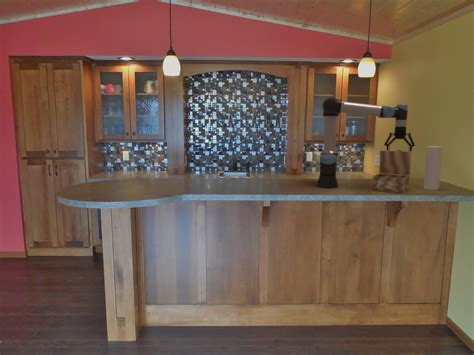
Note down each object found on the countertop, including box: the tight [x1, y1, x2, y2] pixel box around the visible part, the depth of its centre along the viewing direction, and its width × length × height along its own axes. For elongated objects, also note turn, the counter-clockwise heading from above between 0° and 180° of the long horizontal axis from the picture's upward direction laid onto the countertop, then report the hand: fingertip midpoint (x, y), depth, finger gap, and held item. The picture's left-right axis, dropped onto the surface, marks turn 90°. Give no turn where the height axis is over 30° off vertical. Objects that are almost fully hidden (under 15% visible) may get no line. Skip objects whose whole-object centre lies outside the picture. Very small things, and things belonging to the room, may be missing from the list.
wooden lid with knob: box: [378, 149, 412, 176], centre depth 248 cm, size 20×16×14 cm
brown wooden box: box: [371, 173, 410, 194], centre depth 239 cm, size 20×16×10 cm
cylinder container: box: [423, 145, 443, 191], centre depth 241 cm, size 9×9×30 cm
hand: (398, 155), depth 252 cm, fingers open, 13 cm apart
